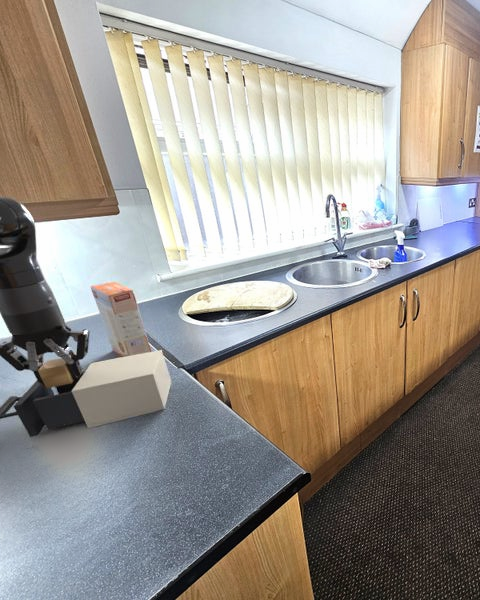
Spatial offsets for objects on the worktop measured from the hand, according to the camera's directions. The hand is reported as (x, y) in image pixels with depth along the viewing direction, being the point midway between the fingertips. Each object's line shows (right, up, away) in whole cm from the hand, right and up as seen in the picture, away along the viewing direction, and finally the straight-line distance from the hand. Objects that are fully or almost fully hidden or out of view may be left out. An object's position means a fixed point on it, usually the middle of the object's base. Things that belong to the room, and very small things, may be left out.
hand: (62, 379), depth 69 cm
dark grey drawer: (-2, -8, +2) cm, 9 cm away
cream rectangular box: (+9, -7, +8) cm, 14 cm away
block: (0, 0, 0) cm, 0 cm away
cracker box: (-9, +1, +29) cm, 30 cm away
